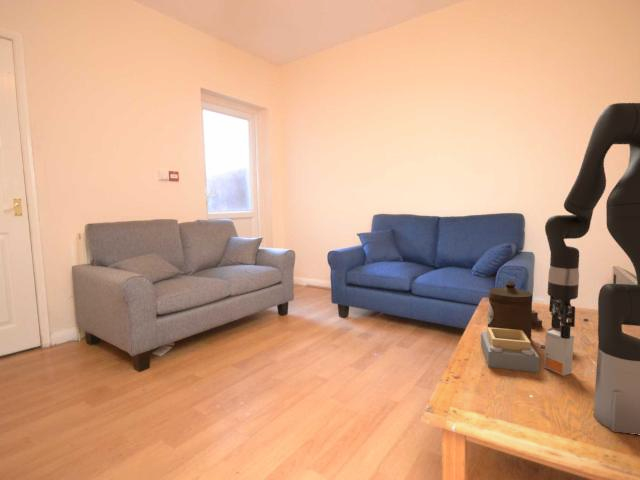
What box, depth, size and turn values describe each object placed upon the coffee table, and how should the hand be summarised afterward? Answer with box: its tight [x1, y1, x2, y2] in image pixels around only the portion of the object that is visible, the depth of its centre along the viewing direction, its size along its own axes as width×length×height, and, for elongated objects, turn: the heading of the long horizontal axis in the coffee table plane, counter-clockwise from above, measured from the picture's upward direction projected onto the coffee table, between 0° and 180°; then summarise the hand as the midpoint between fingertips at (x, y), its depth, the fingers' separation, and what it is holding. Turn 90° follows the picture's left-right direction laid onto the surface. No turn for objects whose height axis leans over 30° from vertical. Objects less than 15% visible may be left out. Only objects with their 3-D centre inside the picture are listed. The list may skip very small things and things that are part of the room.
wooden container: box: [487, 280, 533, 343], centre depth 132 cm, size 15×15×22 cm
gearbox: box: [480, 326, 540, 373], centre depth 116 cm, size 18×14×8 cm
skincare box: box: [543, 330, 575, 376], centre depth 106 cm, size 6×4×12 cm
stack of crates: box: [532, 309, 543, 328], centre depth 146 cm, size 15×15×7 cm
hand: (560, 332), depth 105 cm, fingers open, 8 cm apart
